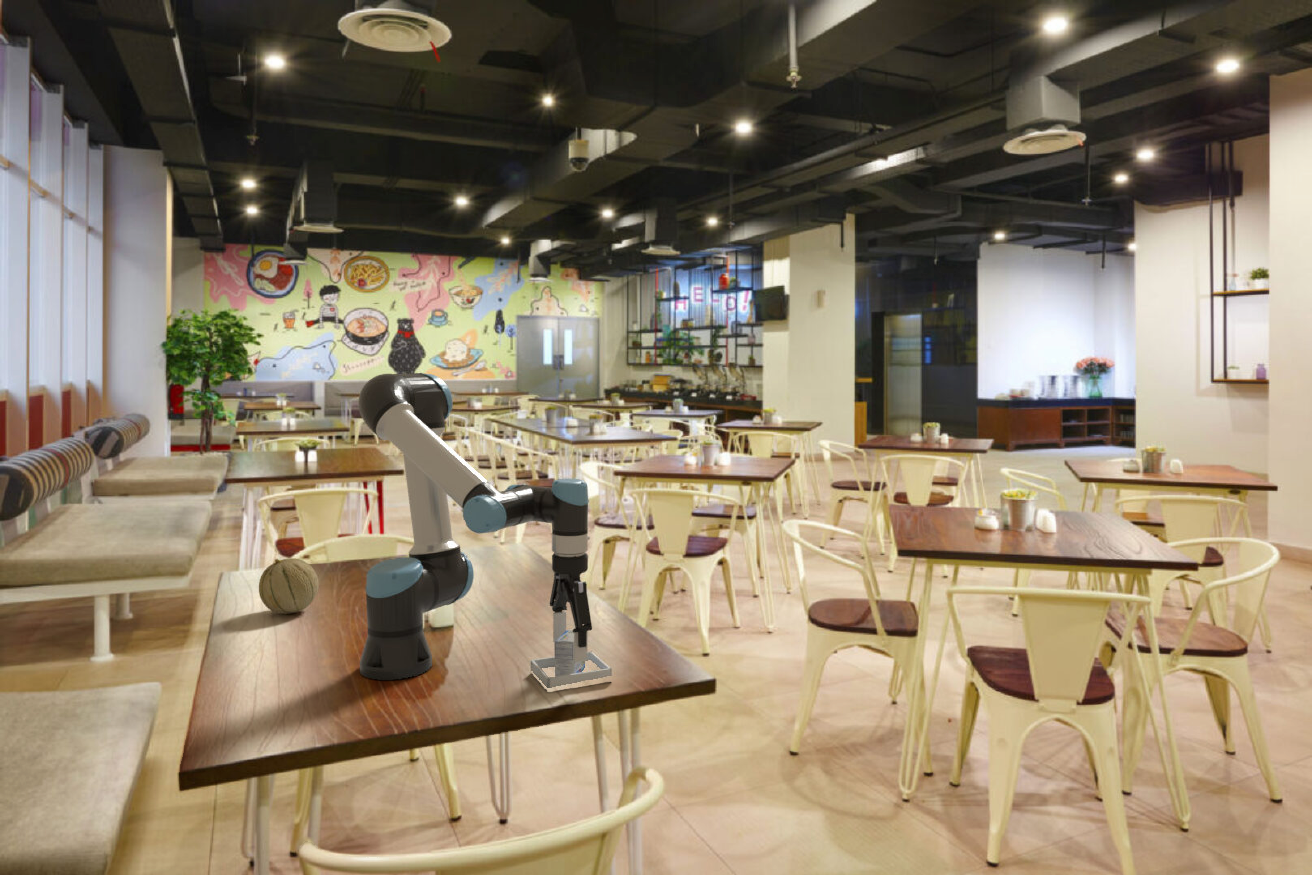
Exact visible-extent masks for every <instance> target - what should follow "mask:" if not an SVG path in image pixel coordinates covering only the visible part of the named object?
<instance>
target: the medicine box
mask: <svg viewBox="0 0 1312 875" xmlns="http://www.w3.org/2000/svg"><path fill="white" fill-rule="evenodd" d="M553 643H554V642H553ZM553 646H554V649H553V650H554V652H553V653H554V657H555V676H562V675H568V674H575V673H581V672H582V671H583V670H584V668H585V661H584V662H577V663H575V662H574V633H573V629H566V631H565V632H564V633H563V634H562V635H561V636H560V637H559V638H558V639H557V640H556V641H555V643H554V645H553Z"/></svg>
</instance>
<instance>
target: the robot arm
mask: <svg viewBox="0 0 1312 875" xmlns="http://www.w3.org/2000/svg"><path fill="white" fill-rule="evenodd" d="M453 401H454V400H453V396H452V392H451V390H450V388H449V386H448V385H447V383H446V382H445V381H444V380H443V379H441V378H440V377H439V376H437V375H434V374H430V373H423V372H416V373H414V372H413V373H382V374H378V375H376V376H373V377H372V378H370V379H369V380H368V381H367V382H366V383H365V384H364V385H363V387H361V391H360V393H359V395H358V410H359V414H360V417H361V418H362V420H363V422H364V423H365V425H366V426H367V427H368V429H370V430H371V432H372V433H373V434H374V435H376V436H377V437H378V438H379V439H381V440H383V441H387V440H388V441H389V442H391V444H392V445H394V446H395V447H396V448H397V449H398V450H399V451H400V452H401V453H402V454H403V464H404V472H405V480H406V487H407V488H406V489H407V494H408V503H409V511H410V512H409V513H410V519H411V520H410V521H411V528H412V535H413V536H412V537H413V543H414V544H413V545H412V547H411V548H410V549H409V551H408V557H407V556H405V557H404V556H403V557H396V558H394V559H393V558H390V559H386V560H382V561H380V562H378V563H375V564H373V565H372V566H371V567H370V568H369V570H368V571H367V573H366V584H365V588H364V589H365V595H366V596H365V598H366V622H367V623H366V626H367V637H366V640H365V644H364V647H363V650H362V654H361V657H360V660H359V673H360V675H361V676H363V677H365V678H366V679H370V678H371V679H370V680H375V679H377V681H397V680H396V679H398V680H403V679H402V678H405V679H409V678H408V677H410V678H413V677H412V676H414V677H416V676H420V675H421V674H424V673H426V672H427V671H429V670H431V668H430V667H433V666H432V665H433V656H432V652H431V649H430V647H429V644H428V640H427V638H426V636H425V633H424V623H423V622H424V613H425V614H426V613H427V612H430V611H432V610H433V611H434V610H436V609H439V608H442V607H444V606H449V605H452V604H454V603H455V602H458V601H459V600H461V599H463V598H464V597H465V596H466V595H467V594H468V593H469V591H470V590H471V588H472V585H473V582H474V577H475V576H474V574H475V573H474V572H475V571H474V567H473V563H472V561H471V560H470V559H468V555H466V554H465V553H464V552H462V551H461V544H460V543H459V542H457V541H456V540H454V538H453V533H452V525H451V518H450V511H449V510H450V509H449V503H448V502H449V500H448V496H449V498H451V499H452V500H453V502H455V503H456V504H457V506H459V507H460V508H461V509H462V518H463V519H462V520H463V521H464V522H465V526H466V527H467V529H469V530H470V531H471V532H473V533H476V534H487V533H495V532H499V531H500V530H504V529H507V528H510V527H516V526H518V525H521V524H523V525H524V524H525V523H530V522H538V523H548V524H551V551H552V553H553V554H552V555H551V569H552V572H553V573H554V575H553V576H554V577H553V582H552V588H551V594H550V600H549V606H550V607H551V610H552V612H553V613H552V616H553V617H552V619H553V620H552V624H553V625H552V627H553V628H552V629H553V630H552V631H553V632H552V633H553V634H552V635H553V638H552V642H553V643H555V641H556V640H557V639H558V638H559V637H560V636H561V635H562V634H563V633H564V632H565V631H566V630H567V610H568V606H567V603H569V606H570V611H571V614H572V615H571V616H572V619H573V623H574V624H573V625H574V628H573V629H572V630H573V633H574V662H575V663H577V662H584V661H587V652H588V635H589V634H588V631H592V629H593V625H592V620H591V610H590V606H589V598H588V594H587V592H588V590H587V589H588V588H587V581H582V580H581V575H582V574H583V573H586V572H587V571H588V568H589V560H588V559H589V555H588V553H587V551H589V550H588V548H589V547H588V546H589V545H588V544H589V543H588V542H589V541H590V539H591V538H590V537H591V536H590V535H589V534H588V532H589V530H588V529H589V528H588V524H589V523H588V522H589V504H590V499H589V489H588V484H587V482H586V481H585V480H583V479H580V478H579V479H578V478H558V479H555V480H554V481H553V482H552V484H551V487H548V486H546V487H545V486H538V485H531V484H527V483H523V484H510V485H508V486H507V488H506V489H505V490H502V491H499V490H498V489H497V488H496V487H495V486H493V484H491V483H490V482H489V481H488V480H487V479H486V478H484V477H483V475H481V473H479V472H478V471H477V470H476V469H475V468H474V467H472V466H471V464H469V463H468V462H467V461H466V460H465V459H464V458H463V457H462V456H460V455H459V453H457V452H456V451H455V450H454V449H453V448H452V447H451V446H450V445H448V444H447V443H446V442H445V441H444V440H443V439H442V438H441V435H442V434H443V433H444V431H445V430H446V424H445V420H447V418H449V416H450V415H451V414H450V412H452V410H453ZM425 671H426V672H425ZM423 672H424V673H423ZM419 674H420V675H419ZM394 679H395V680H394Z"/></svg>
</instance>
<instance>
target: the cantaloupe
mask: <svg viewBox="0 0 1312 875" xmlns="http://www.w3.org/2000/svg"><path fill="white" fill-rule="evenodd" d="M318 578H319V577H318V575H317V572H316V571H315V570H314V568H313V567H312V566H311V565H310V564H309V563H308V562H306V561H304V560H302V559H299V558H293V557H292V558H291V557H290V558H284V559H279V558H277V559H275V561H274V562H273V563H272V564H270V565H269V566H267V567H266V569H264V571H263V572H262V574H261V576H260V578H259V583H258V594H259V597H260V599H261V601H262V603H263V604H264V606H265V607H266V608H267V609H268V610H269V611H271V612H274V613H277V614H282V615H287V614H288V615H290V614H294V613H299V612H301V611H304V610H305V609H307V608H308V607H309V606H310V605H311V604H312V603H313V602H314V600H315V598H316V597H317V594H318V590H319V579H318Z"/></svg>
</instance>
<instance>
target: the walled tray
mask: <svg viewBox="0 0 1312 875" xmlns="http://www.w3.org/2000/svg"><path fill="white" fill-rule="evenodd" d="M588 660H591V661H592V662H593V663H595V664H596V665H597V667H599V668H600V669H601V670H594V671H588V672H581V673H575V674H568V675H562V676H555V677H548V676H547V675H546V673H545V672H544V671H543V670H542V668H548V667H555V656H549V657H543V658H536V659H530V672H531V671H533V673H534V674H535V675H536V676H537V677H538V678H539V680H541V681H542V683H543V684H544V685H545V686H546V687H547V688H552V687H556V686H561V685H566V684H572V683H577V682H581V681H585V680H593V679H598V678H603V677H607V676H612V677H613V674H612V672H613V671H612V670H613V669H612V668H611V667H610V666H609V665H608V663H606V662H605V661H604V660H602V658H600V656H598V655H596V654H595V652H593V651H592V650H591V651H587V661H588Z"/></svg>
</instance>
